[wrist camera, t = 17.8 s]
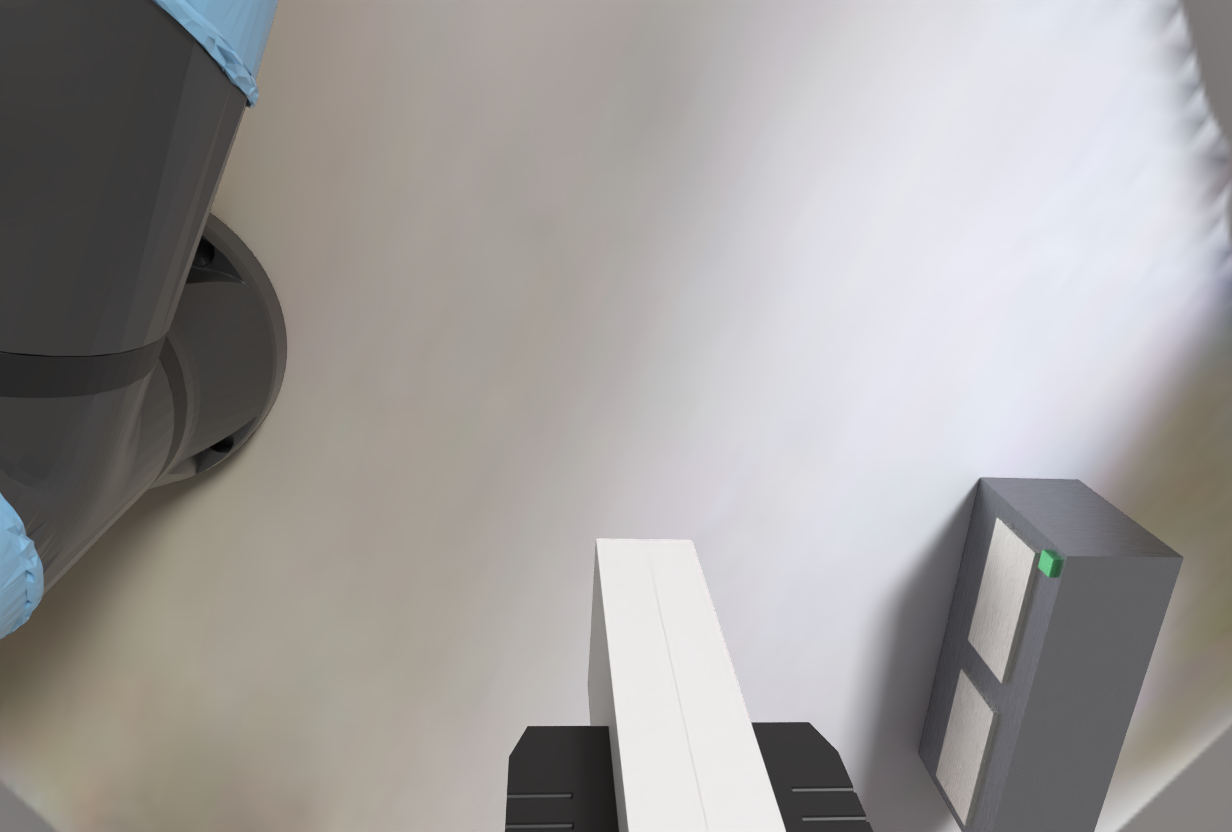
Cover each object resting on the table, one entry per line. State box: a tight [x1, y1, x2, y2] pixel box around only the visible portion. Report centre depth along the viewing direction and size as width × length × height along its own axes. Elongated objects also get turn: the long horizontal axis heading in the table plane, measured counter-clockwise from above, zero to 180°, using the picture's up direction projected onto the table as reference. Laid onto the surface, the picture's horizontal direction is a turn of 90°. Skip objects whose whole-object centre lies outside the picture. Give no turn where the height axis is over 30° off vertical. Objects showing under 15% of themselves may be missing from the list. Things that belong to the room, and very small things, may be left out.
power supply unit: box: [918, 478, 1184, 832], centre depth 50 cm, size 6×20×9 cm, turn 177°
